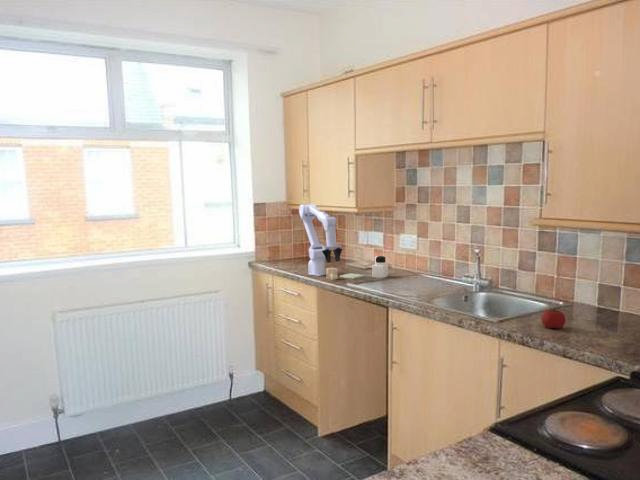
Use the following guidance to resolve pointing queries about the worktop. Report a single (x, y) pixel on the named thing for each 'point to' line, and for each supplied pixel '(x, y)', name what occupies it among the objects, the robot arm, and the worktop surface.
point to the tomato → (553, 319)
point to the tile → (351, 276)
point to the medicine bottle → (380, 267)
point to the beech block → (331, 273)
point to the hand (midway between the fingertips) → (333, 261)
